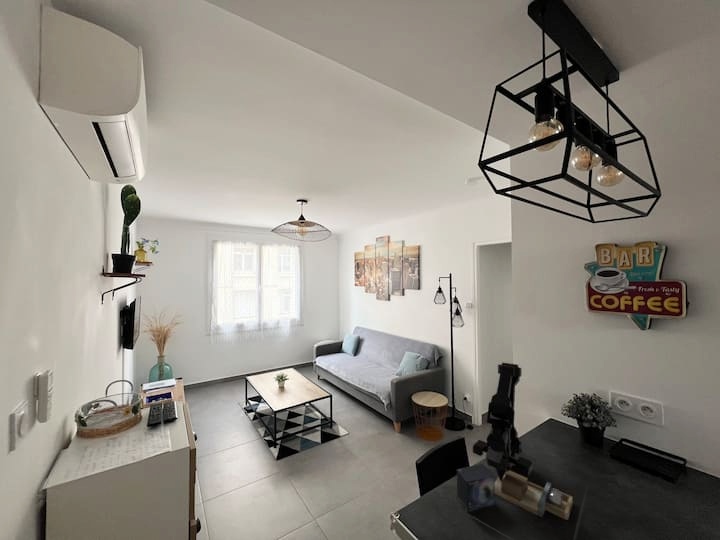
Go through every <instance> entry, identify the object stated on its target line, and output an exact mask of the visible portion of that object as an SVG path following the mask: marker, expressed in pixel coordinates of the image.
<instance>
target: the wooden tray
mask: <svg viewBox="0 0 720 540" xmlns="http://www.w3.org/2000/svg"><path fill="white" fill-rule="evenodd" d="M507 473H508V471H506V473H505V476H506V474H507ZM505 476H504V477H505ZM503 479H504V478H503ZM551 489H553V487H552V483H551V482H549V481H547V482H546V483H545V486H544V487H542V486H540V485H538V484H536V483H534V482H531V481H529V480H528V489H527V491H526V493H525V494H524V496H523V498H522V500H521V501H519V500H517V499H515V498H513V497H511V496H509V495H507V494H505V493H503V492H501V481H500V479H499V476H498V477H497V479H496V480H495V496H498V497H500V498H502V499H504V500H506V501H508V502H510V503H512V504H514V505H516V506H517V507H519V508H523V509H524V510H526V511H528V512H530V513H532V514H534V515H536V516H538V517H540V518H543V517H544V514H545V511H547V512H550V513H551V514H553V515H555V516H557V517H559V518H562V519H563V520H566V521H569V518H570V514H571V511H572V508H573V503H574V501H573V499H574V498H573V496H571V495H570V494H568V493H564V492H562V491H560V492H561V493H562V495H563V500H562V503H561V507H560V508H558V507H556V506H554V505H552V504H549V503H547V498H548V496H549V493H550V490H551Z"/></svg>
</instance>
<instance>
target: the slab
mask: <svg viewBox="0 0 720 540" xmlns="http://www.w3.org/2000/svg"><path fill="white" fill-rule="evenodd" d="M507 472H508V473H507V474H506V476H505V477H504V479H503V480H502V481H501V492H503V493H505V494H507V495H509V496H511V497H513V498H515V499H517V500H519V501H521V500H522V498H523V496H524V494H525V493H526V491H527V489H528V481H529V480H528V477H526V476H524V475H521V474H519V473H517V472H515V471H512V470H511V469H510V470H507Z"/></svg>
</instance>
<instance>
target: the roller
mask: <svg viewBox="0 0 720 540" xmlns="http://www.w3.org/2000/svg"><path fill="white" fill-rule="evenodd" d="M552 488H553V487H552ZM561 492H562V491H560V490H559V489H557V488H553V489H551V490H550V493H549V496H548V498H547V503H549V504H552V505H554V506H556V507H558V508H560V507H561V503H562V500H563V495H562V493H561Z"/></svg>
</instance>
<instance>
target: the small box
mask: <svg viewBox="0 0 720 540" xmlns="http://www.w3.org/2000/svg"><path fill="white" fill-rule="evenodd" d="M495 481H496V480H495V474H493V472H492V471H491V470H489V468H488V467H487V466H485V464H483V463H480V464H476V465H469V466H465V467H462V468H461V467H460V468H457V469H456V499H457V501H458V502H459V503H460V504H461V506H462V507H463V509H465V511H466V514H469V513H470V512H475V511H477V510H478V511H479V510H482V509H486V508H489V507H492V506H495V505H496V500H495V498H496V495H495Z"/></svg>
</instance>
